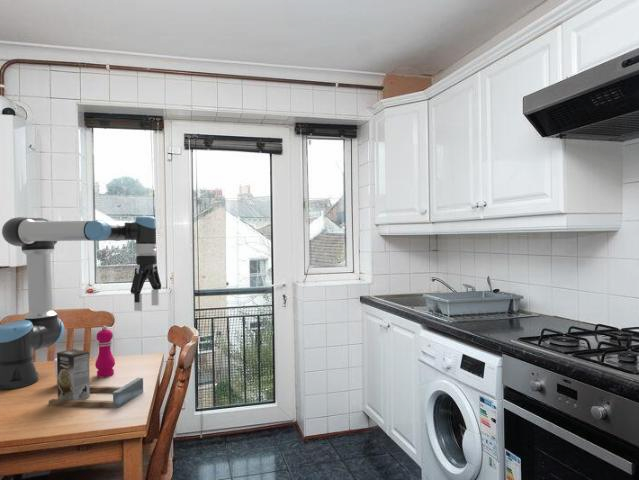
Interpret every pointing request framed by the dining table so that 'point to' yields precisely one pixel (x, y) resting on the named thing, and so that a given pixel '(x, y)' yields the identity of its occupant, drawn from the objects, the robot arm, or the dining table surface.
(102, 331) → the pepper mill
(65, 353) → the coffee box
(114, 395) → the guide channel
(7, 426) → the dining table surface
